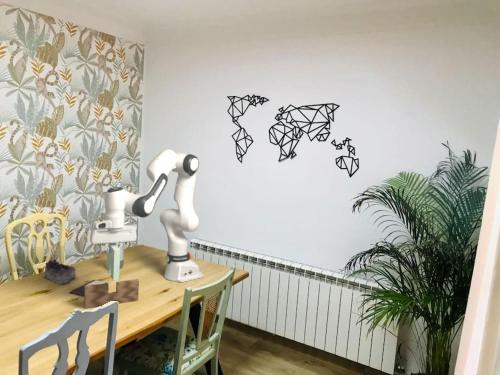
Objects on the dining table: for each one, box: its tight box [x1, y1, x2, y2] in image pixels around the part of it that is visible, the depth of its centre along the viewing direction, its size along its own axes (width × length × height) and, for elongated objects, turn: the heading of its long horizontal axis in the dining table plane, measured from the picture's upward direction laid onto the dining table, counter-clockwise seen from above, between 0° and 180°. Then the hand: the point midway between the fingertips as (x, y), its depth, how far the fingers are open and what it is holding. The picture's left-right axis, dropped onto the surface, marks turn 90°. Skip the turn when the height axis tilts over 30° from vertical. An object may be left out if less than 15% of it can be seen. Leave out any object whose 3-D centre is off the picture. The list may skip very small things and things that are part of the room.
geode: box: [44, 259, 77, 285], centre depth 202 cm, size 20×12×10 cm, turn 64°
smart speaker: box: [120, 245, 125, 269], centre depth 223 cm, size 10×9×14 cm
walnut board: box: [83, 278, 140, 310], centre depth 178 cm, size 24×2×10 cm, turn 121°
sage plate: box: [106, 243, 120, 282], centre depth 176 cm, size 16×2×14 cm, turn 31°
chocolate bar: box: [68, 279, 107, 298], centre depth 193 cm, size 9×1×18 cm
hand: (113, 251), depth 175 cm, fingers closed on sage plate, 2 cm apart
